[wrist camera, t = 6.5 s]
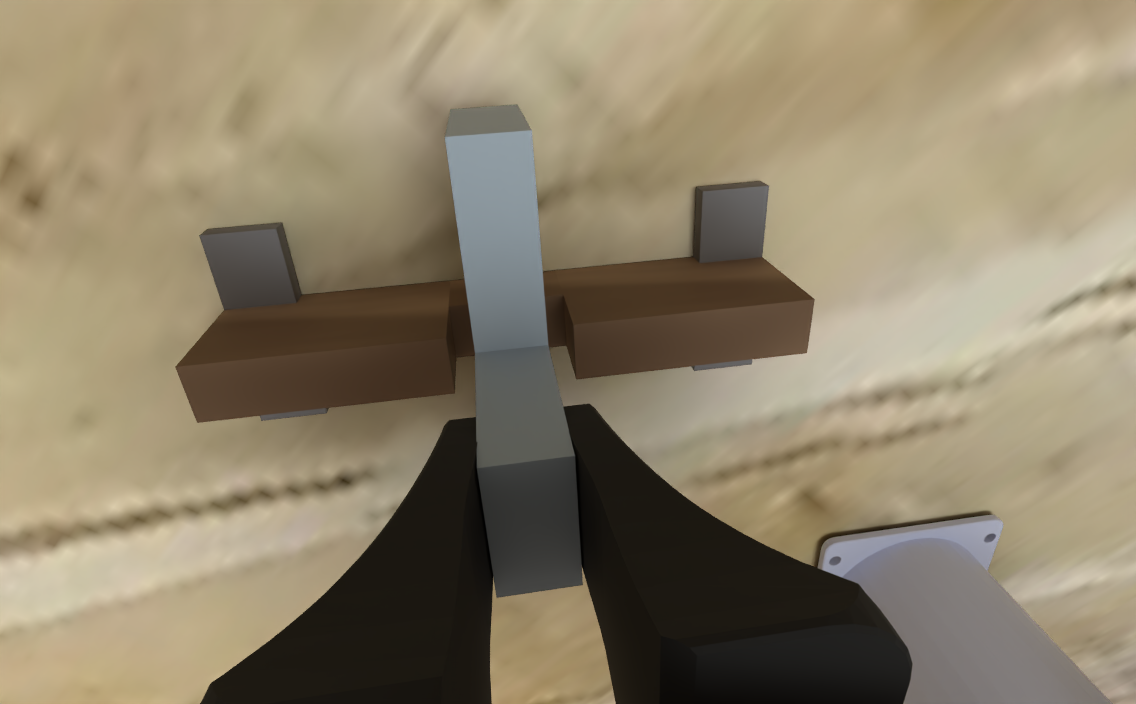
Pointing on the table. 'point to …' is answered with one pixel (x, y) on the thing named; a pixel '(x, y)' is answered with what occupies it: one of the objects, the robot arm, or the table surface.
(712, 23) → the table surface
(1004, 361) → the table surface
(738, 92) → the table surface
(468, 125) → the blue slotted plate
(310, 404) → the walnut slotted plate
